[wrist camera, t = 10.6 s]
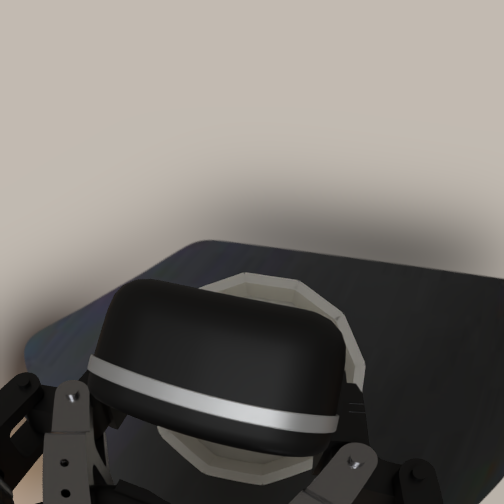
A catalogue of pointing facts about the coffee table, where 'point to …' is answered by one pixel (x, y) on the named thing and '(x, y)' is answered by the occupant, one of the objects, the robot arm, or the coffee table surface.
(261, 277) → the bowl
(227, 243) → the coffee table surface
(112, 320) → the battery charger
